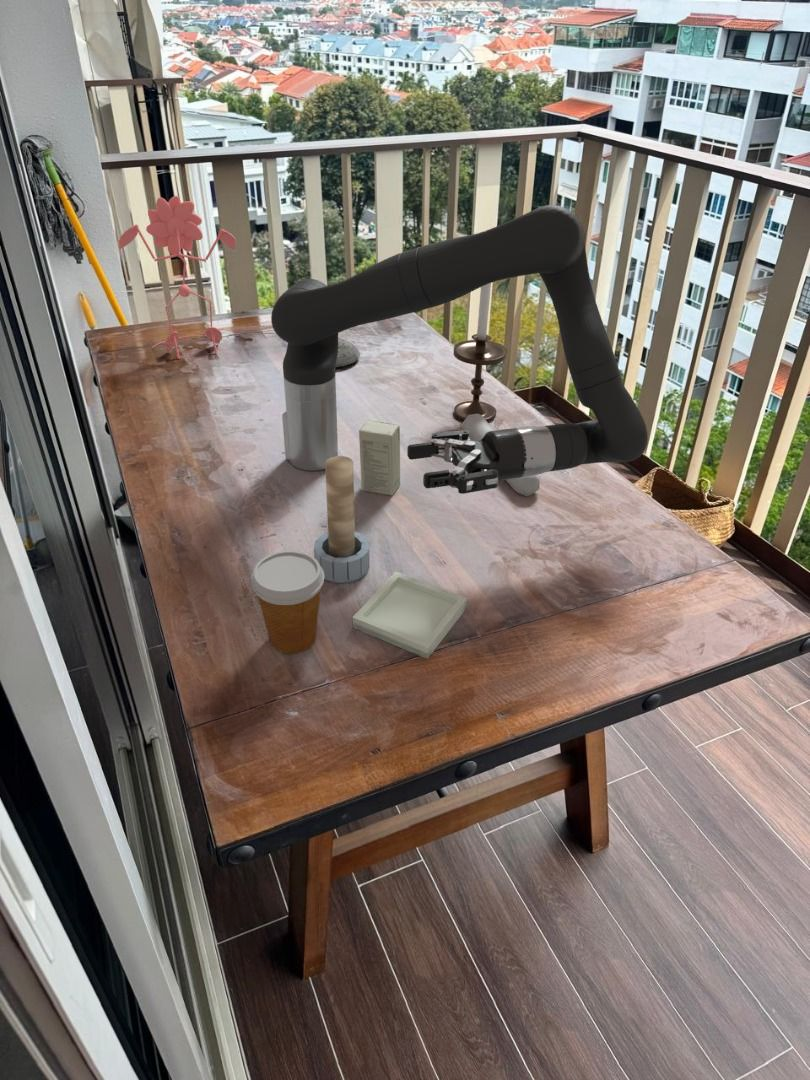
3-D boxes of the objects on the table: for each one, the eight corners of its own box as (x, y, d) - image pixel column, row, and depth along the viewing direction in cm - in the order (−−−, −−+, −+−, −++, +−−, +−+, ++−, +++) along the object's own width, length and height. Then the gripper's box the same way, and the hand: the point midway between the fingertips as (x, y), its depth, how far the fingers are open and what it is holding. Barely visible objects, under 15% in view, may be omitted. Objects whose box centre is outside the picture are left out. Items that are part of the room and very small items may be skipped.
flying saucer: (326, 343, 193) (325, 322, 189) (372, 358, 186) (372, 336, 182) (285, 361, 183) (284, 340, 179) (333, 378, 176) (332, 355, 172)
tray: (352, 627, 107) (352, 617, 105) (395, 581, 115) (395, 571, 114) (427, 658, 102) (428, 648, 101) (466, 608, 110) (467, 598, 109)
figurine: (251, 350, 187) (234, 198, 167) (144, 365, 178) (113, 206, 158) (237, 330, 198) (220, 186, 178) (135, 343, 190) (105, 193, 170)
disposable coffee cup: (260, 616, 108) (252, 549, 101) (327, 613, 109) (324, 547, 102) (255, 664, 100) (246, 595, 93) (327, 661, 101) (324, 592, 94)
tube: (550, 477, 134) (488, 415, 153) (526, 474, 131) (466, 411, 150) (538, 503, 136) (479, 438, 155) (514, 500, 134) (457, 435, 152)
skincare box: (400, 484, 138) (402, 424, 131) (392, 496, 134) (393, 436, 127) (368, 478, 139) (367, 418, 132) (359, 489, 136) (358, 429, 129)
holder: (304, 571, 116) (303, 551, 114) (335, 544, 122) (334, 524, 120) (350, 590, 113) (349, 569, 111) (379, 560, 119) (379, 540, 117)
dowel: (324, 565, 117) (319, 465, 106) (338, 552, 120) (335, 453, 109) (346, 574, 115) (343, 473, 105) (360, 560, 118) (358, 460, 108)
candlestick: (463, 398, 168) (476, 234, 147) (508, 410, 163) (527, 242, 143) (440, 417, 160) (450, 246, 139) (486, 430, 156) (503, 256, 135)
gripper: (503, 409, 118) (402, 421, 114) (540, 453, 106) (430, 468, 103) (499, 452, 122) (402, 465, 118) (534, 498, 111) (429, 513, 107)
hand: (415, 466), depth 111 cm, fingers open, 8 cm apart
